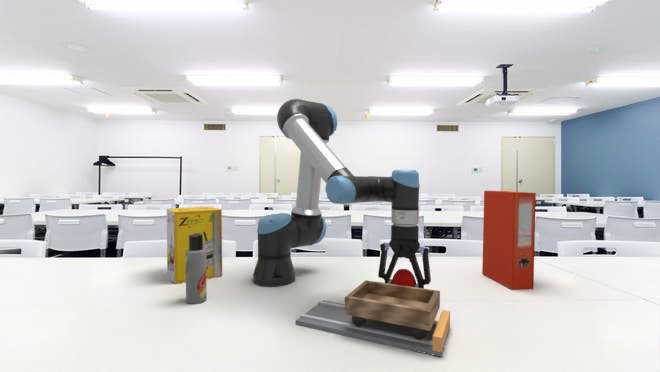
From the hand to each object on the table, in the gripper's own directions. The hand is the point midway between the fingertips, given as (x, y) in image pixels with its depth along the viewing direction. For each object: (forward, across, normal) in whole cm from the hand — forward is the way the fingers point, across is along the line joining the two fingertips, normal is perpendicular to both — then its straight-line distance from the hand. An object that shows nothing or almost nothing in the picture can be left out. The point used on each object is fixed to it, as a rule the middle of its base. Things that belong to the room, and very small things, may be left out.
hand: (403, 305), depth 94 cm
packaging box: (+2, -79, -3) cm, 79 cm away
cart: (-1, +1, -15) cm, 15 cm away
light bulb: (0, 0, 0) cm, 0 cm away
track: (+1, -4, -15) cm, 16 cm away
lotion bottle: (+1, -57, -22) cm, 61 cm away
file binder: (+1, +27, +40) cm, 48 cm away
